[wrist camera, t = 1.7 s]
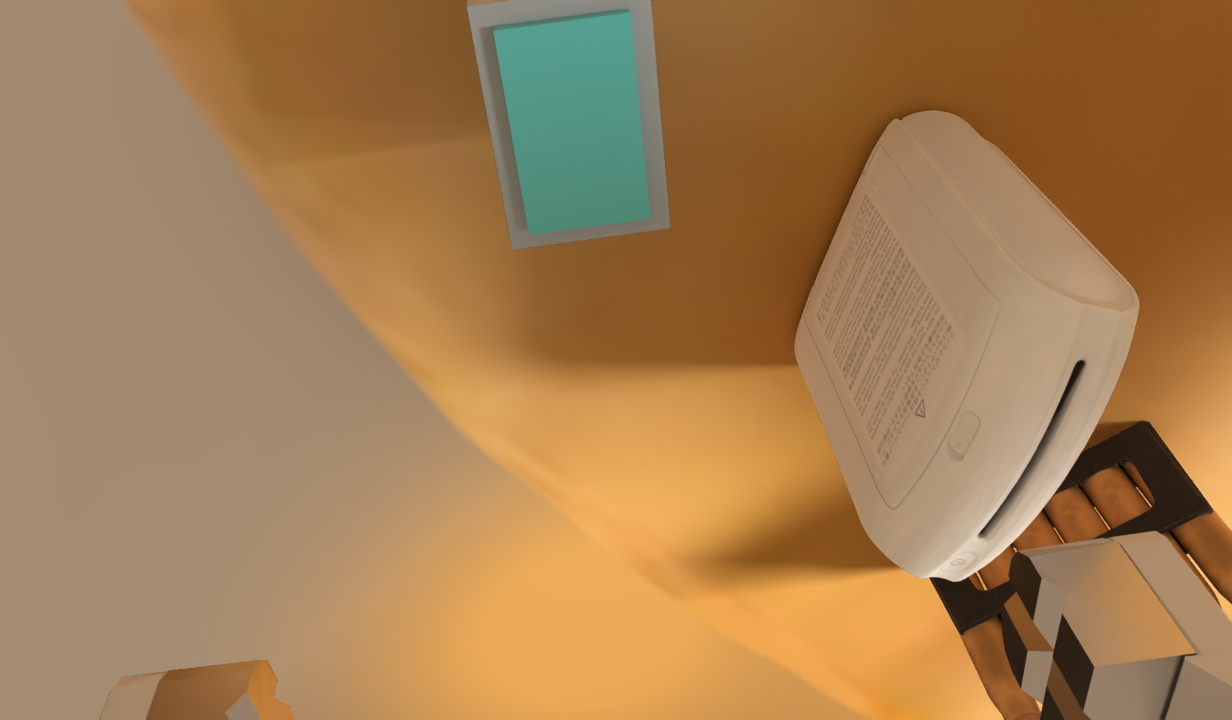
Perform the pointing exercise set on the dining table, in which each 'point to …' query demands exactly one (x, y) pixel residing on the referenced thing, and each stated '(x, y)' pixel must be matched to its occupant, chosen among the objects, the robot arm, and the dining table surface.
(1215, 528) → the ammunition clip
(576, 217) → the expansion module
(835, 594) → the dining table surface
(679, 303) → the dining table surface
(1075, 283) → the photo printer
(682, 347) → the dining table surface
